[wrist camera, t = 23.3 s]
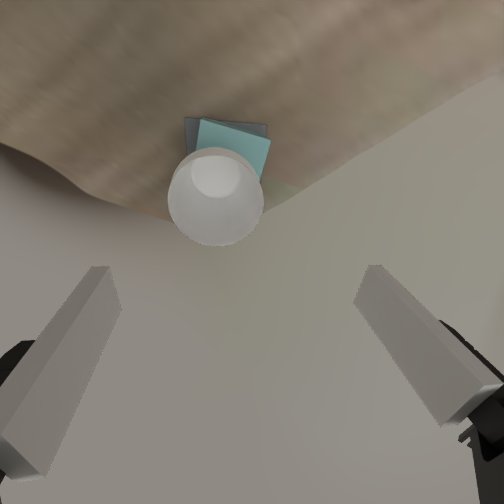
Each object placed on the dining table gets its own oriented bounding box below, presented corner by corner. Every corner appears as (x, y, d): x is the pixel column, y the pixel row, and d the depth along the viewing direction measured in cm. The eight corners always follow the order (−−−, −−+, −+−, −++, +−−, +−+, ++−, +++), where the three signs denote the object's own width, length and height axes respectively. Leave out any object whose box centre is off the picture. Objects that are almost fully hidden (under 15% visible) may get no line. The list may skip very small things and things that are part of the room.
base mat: (189, 198, 41) (189, 198, 40) (184, 117, 34) (184, 117, 34) (258, 200, 42) (258, 201, 42) (266, 124, 36) (266, 124, 36)
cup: (247, 206, 35) (261, 248, 25) (184, 204, 33) (170, 248, 23) (252, 138, 30) (271, 156, 20) (178, 133, 29) (159, 149, 19)
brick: (191, 190, 39) (187, 205, 34) (203, 116, 34) (200, 119, 28) (244, 201, 42) (248, 217, 36) (262, 134, 36) (271, 140, 31)
